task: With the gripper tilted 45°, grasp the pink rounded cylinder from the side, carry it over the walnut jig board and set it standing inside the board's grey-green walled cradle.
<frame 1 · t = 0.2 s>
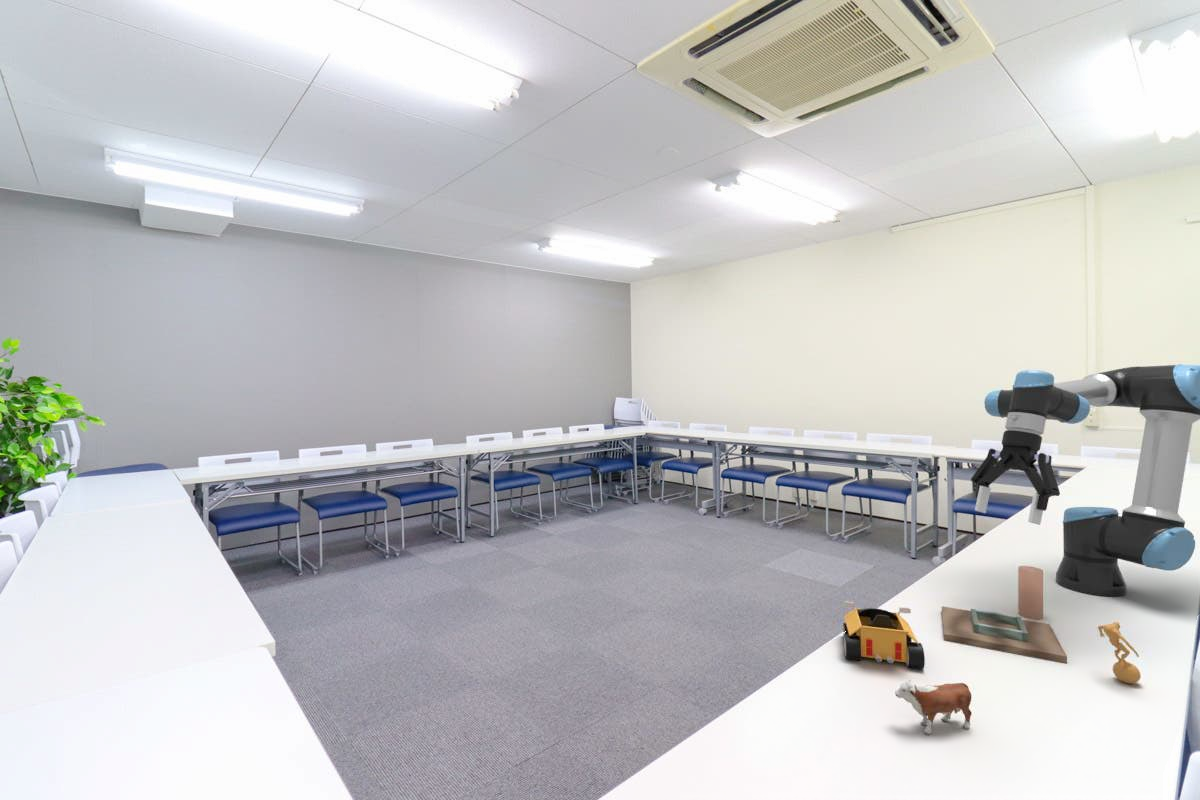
hand: (1005, 517, 130), 27 cm above the table, tool tilted 15°, fingers open, 13 cm apart
bull figurine: (935, 727, 94), on the table
figurine: (1120, 682, 107), on the table
pink rounded cylinder: (1030, 615, 138), on the table
race car: (879, 655, 120), on the table
jig board: (997, 634, 127), on the table
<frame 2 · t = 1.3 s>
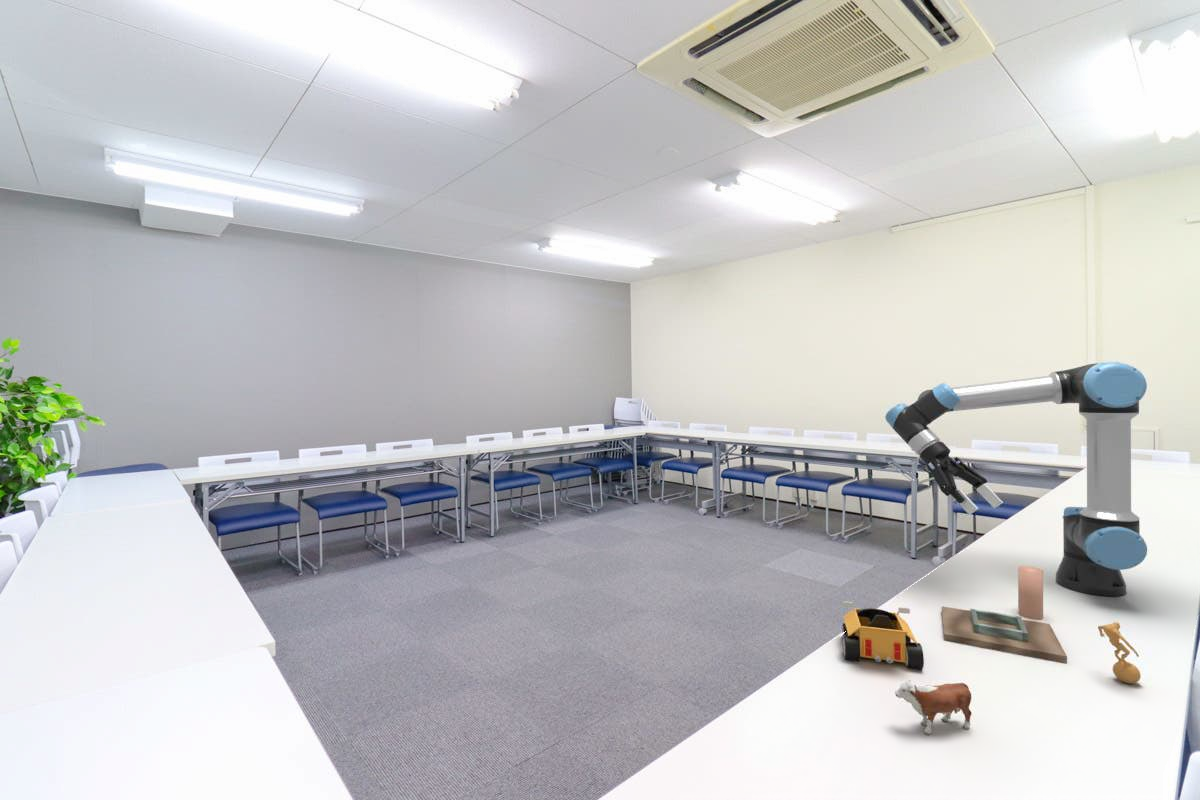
hand: (986, 508, 146), 26 cm above the table, tool tilted 45°, fingers open, 13 cm apart
nothing on the table moved.
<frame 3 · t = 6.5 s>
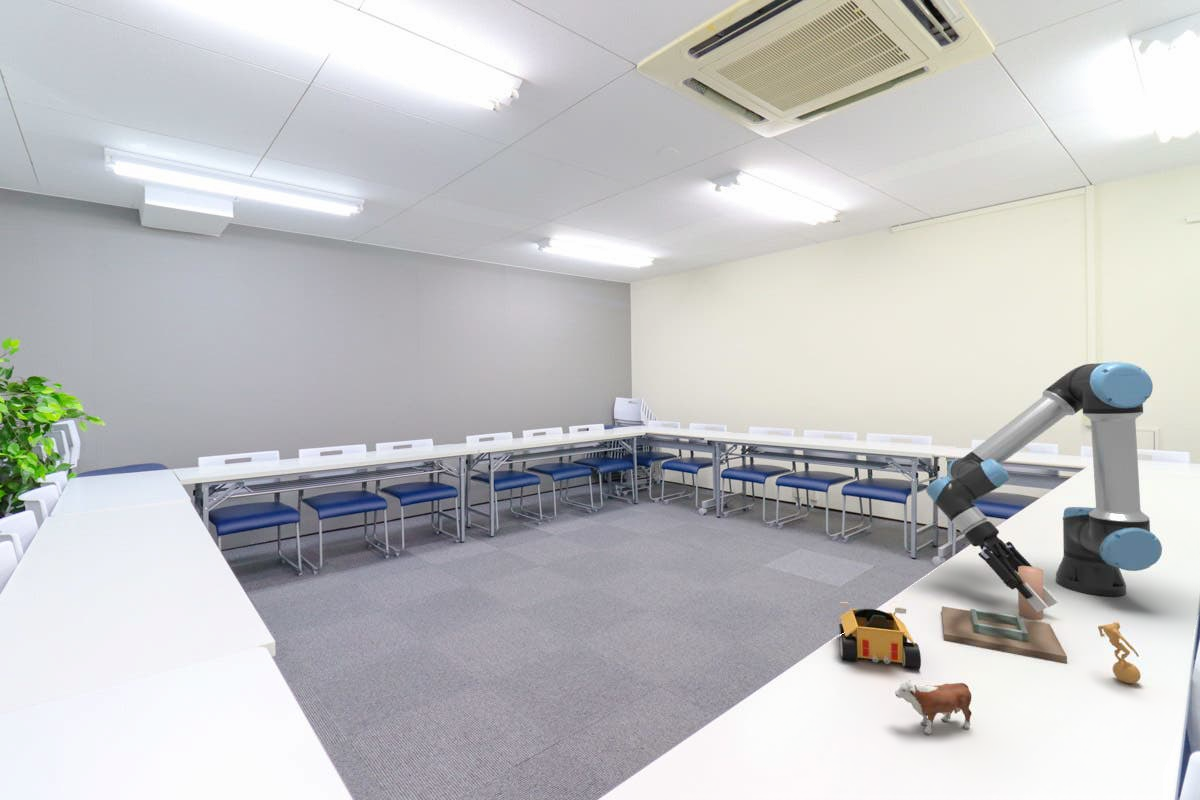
hand: (1048, 606, 134), 3 cm above the table, tool tilted 45°, fingers closed on pink rounded cylinder, 5 cm apart
pink rounded cylinder: (1030, 615, 138), on the table, touching gripper
when the fingers open (6 cm above the table, at t = 13.6 s): pink rounded cylinder drops 1 cm, resting on jig board.
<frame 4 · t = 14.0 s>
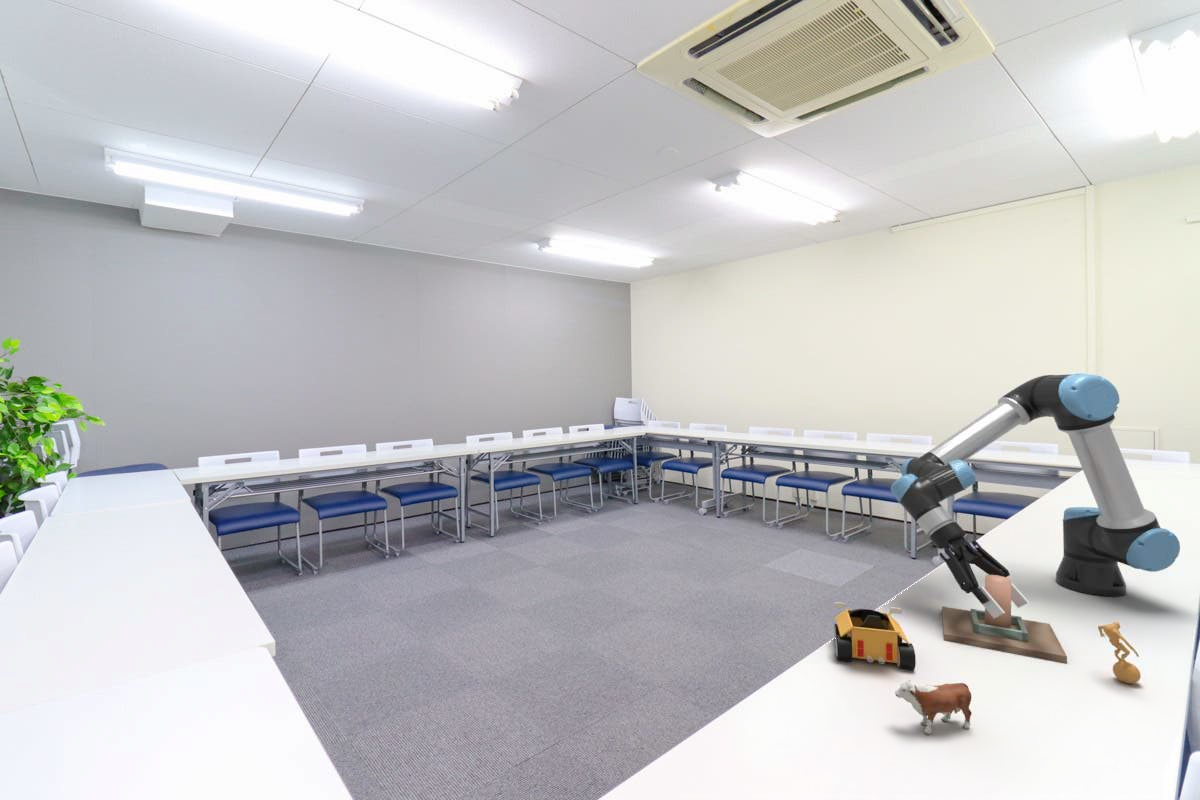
hand: (1011, 610, 125), 7 cm above the table, tool tilted 45°, fingers open, 10 cm apart
pink rounded cylinder: (997, 628, 127), point 2 cm above the table, touching jig board
race car: (871, 656, 120), on the table
everything else where it was.
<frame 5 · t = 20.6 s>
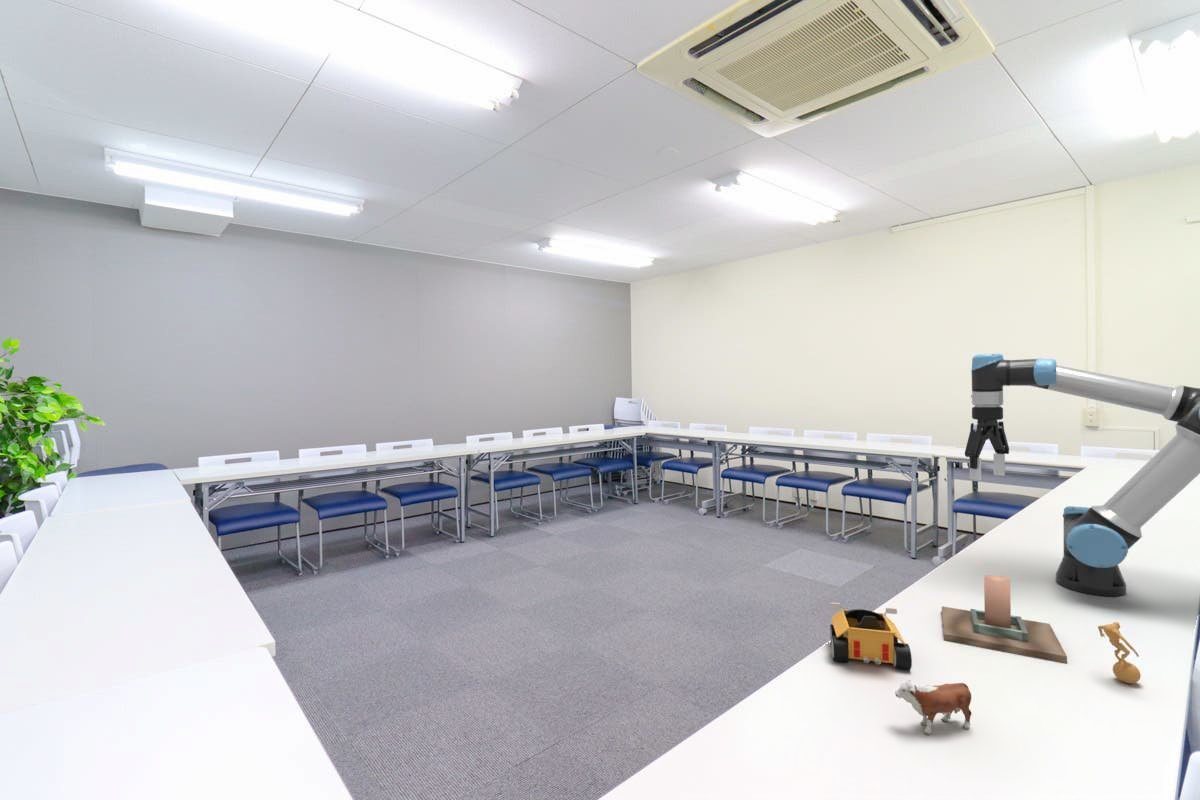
hand: (987, 477, 159), 32 cm above the table, tool pointing down, fingers open, 13 cm apart
race car: (866, 656, 119), on the table
everything else where it was.
at the end: pink rounded cylinder 0.1 cm off-centre on the jig board, point 1.5 cm above the jig board's base; pink rounded cylinder tilted 1°; the gripper is holding nothing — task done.
